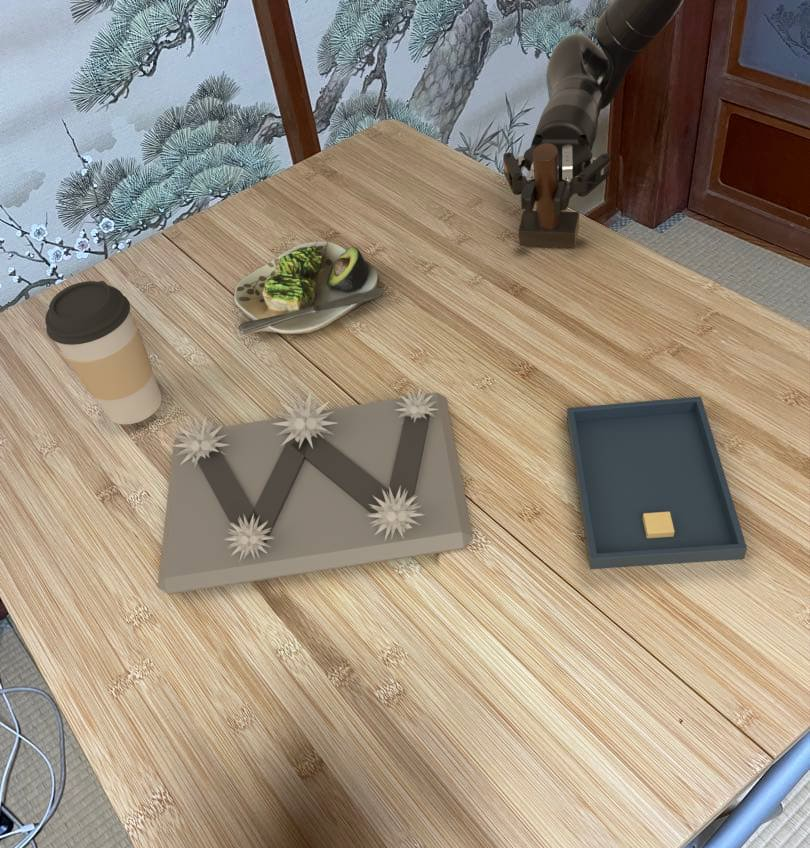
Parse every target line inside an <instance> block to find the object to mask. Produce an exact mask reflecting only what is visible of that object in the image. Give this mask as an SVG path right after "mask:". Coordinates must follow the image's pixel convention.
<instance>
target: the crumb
mask: <svg viewBox="0 0 810 848" xmlns="http://www.w3.org/2000/svg"><path fill="white" fill-rule="evenodd" d="M643 523H644V528H645V533H646V538H662V537H673V536H674V532H675V531H674V527H673V523H672V518H671V514H670V512H656V513H644V514H643Z"/></svg>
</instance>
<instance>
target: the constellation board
mask: <svg viewBox="0 0 810 848" xmlns="http://www.w3.org/2000/svg"><path fill="white" fill-rule="evenodd" d="M421 388H422V387H421V386H420V387H419V390H418V392H417V395H416V394H415V392H414V389H413V388H411V392H410V391H409V390H405V392H406V395H407V396H403V395H401V394H398V395H399V398H393V399H392V398H391V399H386V400H380V401H374V402H366V403H361V404H356V405H348V406H344V407H343V406H342V407H337V408H331V409H325V408H326V406H327V405H328V404H329V402H330V400H328V401H327V402H325V403H323V404H322V405H320V406H319V407H317V408H316V406H317V401H318V398H319V397H318V396H319V394H316V396H315V398H314V399H313V401H312V398H311V395H312V394H311V393H312V389H310V391H309V393H308V396H307V399H306V401H305V403H304V402H303V400H302V397H301V395H300V392H299V390H298V389H297V398H296V399H297V401H296V400H295V398H294V397H293V395H292V394H291V393H290V398H291V400H292V401H291V402H292V405H293V408H292V407H290V406H288V405H287V404H285V403H283V402H282V401H278V402H279V403H280V404H281V406H282V407H283V408H284V409H285V410H286V411H287V412H288V413H283V412H278V411H276V412H275V414H277V415H278V416H280V417H275V418H268V419H263V420H255V421H251V422H245V423H238V424H231V425H226V426H224V425H221V426H219V427H213V424H214V420H215V419H210V422H208V423H207V417H204V420H203V423H202V425H201V427H200V424H199V422H198V420H197V418H196V416H195V415H193V416H194V424H193V422H192V421H191V420H188V419H186V421H187V425H188V427H189V430H190V431H189V430H188V429H186V428H184V427H182V426H181V425H179V426H178V429H179V430H180V431H182V433H179V434H176V435H173V437H174V438H175V439H174V440H173V445H172V444H171V447H172V454H171V463H170V473H169V482H168V490H167V500H166V509H165V516H164V526H163V535H162V544H161V552H160V553H161V555H160V562H159V571H158V578H157V579H158V580H157V587H158V588H159V589H160V590H161V591H162V592H164V593H165V594H166V595H167V596H169V595H177V594H182V593H188V592H196V591H202V590H209V589H215V588H222V587H226V586H234V585H235V586H236V585H240V584H247V583H253V582H260V581H266V580H273V579H280V578H286V577H291V576H292V577H293V576H299V575H305V574H311V573H317V572H325V571H330V570H331V571H332V570H337V569H344V568H351V567H357V566H363V565H369V564H375V563H377V564H378V563H383V562H388V561H396V560H401V559H409V558H415V557H420V556H421V557H422V556H428V555H433V554H434V555H435V554H440V553H441V554H442V553H447V552H453V551H461V550H465V549H466V548H467V546H468V545H469V544H470V543H471V542H472V541H473V539H474V536H473V530H472V525H471V519H470V513H469V509H468V505H467V504H468V503H467V499H466V493H465V489H464V483H463V477H462V472H461V467H460V461H459V456H458V452H457V446H456V440H455V436H454V435H455V434H454V430H453V425H452V419H451V415H450V409H449V403H448V399H447V397H446V396H445V395H442V394H440V393H439V392H437V391H435V392H430V393H429V392H428V393H426V392H427V390H423V391H422V393H421V390H422V389H421ZM324 409H325V410H324ZM194 425H195V426H194Z"/></svg>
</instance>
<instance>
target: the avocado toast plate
mask: <svg viewBox="0 0 810 848" xmlns="http://www.w3.org/2000/svg"><path fill="white" fill-rule="evenodd" d="M379 280H380V276H379V273H378V271H377V269H376V268H375V267H374V266H373V264H371V263H370V262H368V261H366V260H365V258H364V256H363V255H362V253H361V252H360V250H359V249H358V248H357V247H354V246H352V247H349V248H344V247H342V246H341V245H339V244H337V243H334V242H331V241H326V240H325V241H324V240H321V241H318V240H317V241H310V242H304V243H301V244H298V245H296V246H293V247H291V248H290V249H288V250H286V251H285V252H283V253H282V254H280V255H279V256H277V257H276V258H274V259H273V260H271V261H269V262H267V263H266V264H265V265H263V266H261V267H259V268H256V269H255V270H254V271H252V272H251V273H249V274H248V275H246V276H244V277H242V278H241V280H239V282H238V284H236V287H235V288H234V296H233V303H234V305H235V306H236V307H237V308H238V309H239V310H240V311H241V312H242V313H243V315H245V316H246V317H247V318H248V319H250V320H249V321H246V322H242V323H241V324H239V325H238V331H239V333H240V334H242V335H248V334H255V333H258V332H259V333H260V332H267V333H275V334H280V335H299V334H305V335H306V334H311V333H313V332H316V331H318V330H321V329H323V328H326V327H327V326H329V325H330V324H332V323H334V322H335V321H337V320H338V319H341V318H342V317H344V316H345V315H348V314H349V313H352V312H354V311H355V310H357V309H358V308H360V307H362V306H363V305H364V304H367V303H368V302H371V301H373V300H375V299H376V298H379V297H380V296H382V295H383V294H384V293H385V292H386V289H385V288H383V287H379V282H380V281H379Z"/></svg>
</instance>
